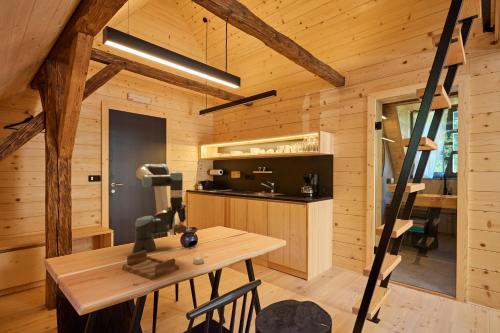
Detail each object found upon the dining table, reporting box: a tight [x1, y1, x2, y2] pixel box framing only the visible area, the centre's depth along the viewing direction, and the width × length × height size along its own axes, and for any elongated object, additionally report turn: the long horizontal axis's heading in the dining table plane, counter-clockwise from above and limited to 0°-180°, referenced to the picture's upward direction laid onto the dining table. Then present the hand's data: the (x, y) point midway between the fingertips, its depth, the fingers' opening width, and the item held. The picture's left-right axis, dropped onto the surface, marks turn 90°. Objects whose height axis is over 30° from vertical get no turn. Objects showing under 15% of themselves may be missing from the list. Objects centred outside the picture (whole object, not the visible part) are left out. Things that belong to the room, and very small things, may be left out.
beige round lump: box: [192, 255, 205, 265], centre depth 163 cm, size 6×6×3 cm
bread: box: [166, 223, 187, 234], centre depth 170 cm, size 6×19×6 cm, turn 41°
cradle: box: [121, 250, 180, 281], centre depth 152 cm, size 27×18×7 cm, turn 57°
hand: (176, 233), depth 168 cm, fingers closed on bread, 6 cm apart
